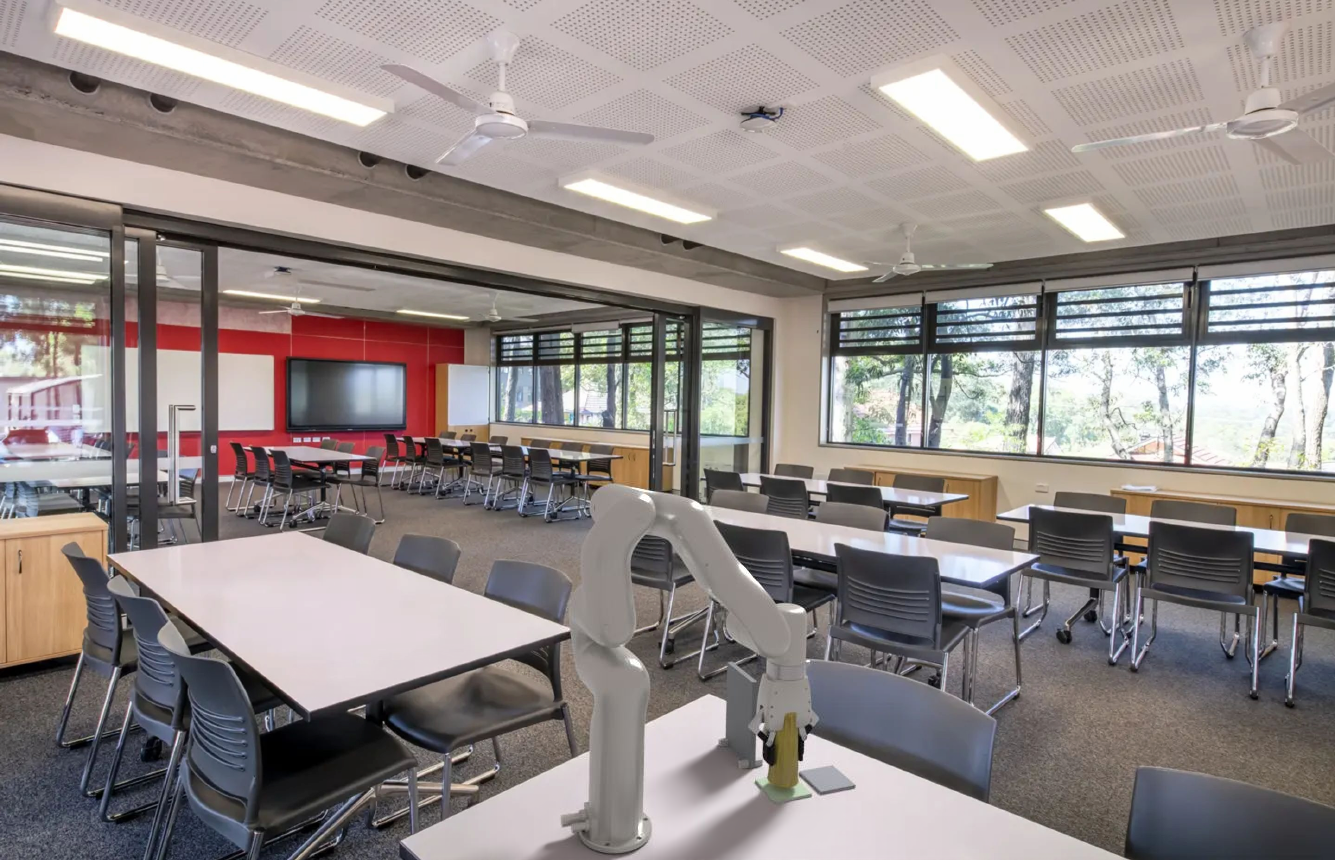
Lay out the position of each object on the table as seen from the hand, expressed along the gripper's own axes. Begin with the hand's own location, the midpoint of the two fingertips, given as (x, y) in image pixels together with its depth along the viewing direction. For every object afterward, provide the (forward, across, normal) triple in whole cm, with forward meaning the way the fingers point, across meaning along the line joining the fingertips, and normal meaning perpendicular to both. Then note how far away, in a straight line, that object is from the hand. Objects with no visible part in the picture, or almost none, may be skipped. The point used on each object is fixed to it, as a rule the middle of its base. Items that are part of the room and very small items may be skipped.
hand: (783, 759), depth 135 cm
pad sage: (+6, 0, 0) cm, 6 cm away
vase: (+4, 0, 0) cm, 4 cm away
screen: (+6, +2, -15) cm, 16 cm away
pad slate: (+6, -10, 0) cm, 12 cm away
